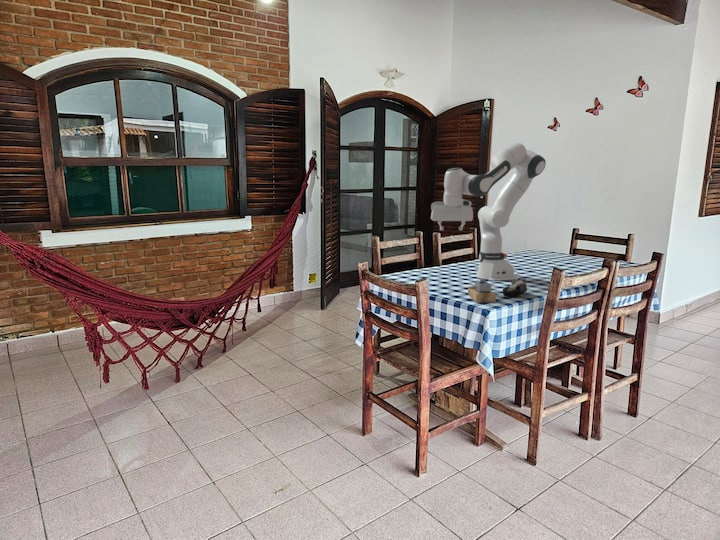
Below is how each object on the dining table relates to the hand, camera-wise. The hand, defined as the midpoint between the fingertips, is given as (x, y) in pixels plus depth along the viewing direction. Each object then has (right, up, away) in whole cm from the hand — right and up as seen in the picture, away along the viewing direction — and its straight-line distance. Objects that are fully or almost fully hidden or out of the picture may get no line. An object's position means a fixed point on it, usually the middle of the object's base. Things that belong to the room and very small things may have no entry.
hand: (451, 230), depth 244 cm
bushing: (+17, -30, -2) cm, 35 cm away
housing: (+12, -30, -14) cm, 35 cm away
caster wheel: (+29, -32, -8) cm, 44 cm away
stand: (+12, -33, -13) cm, 37 cm away
